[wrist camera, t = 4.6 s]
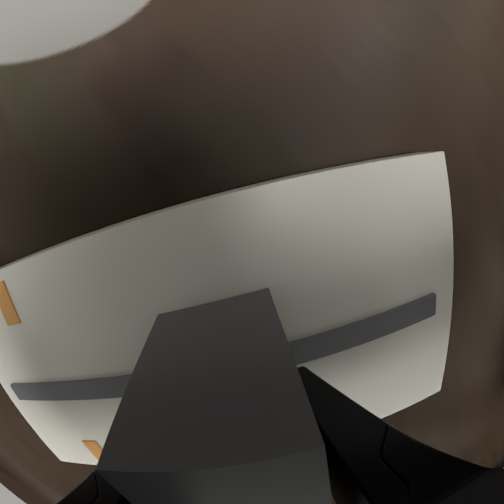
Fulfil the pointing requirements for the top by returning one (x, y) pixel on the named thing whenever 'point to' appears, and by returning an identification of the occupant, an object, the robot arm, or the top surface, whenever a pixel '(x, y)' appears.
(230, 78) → the top surface
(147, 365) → the fader knob
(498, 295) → the top surface
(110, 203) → the top surface
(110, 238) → the fader panel
